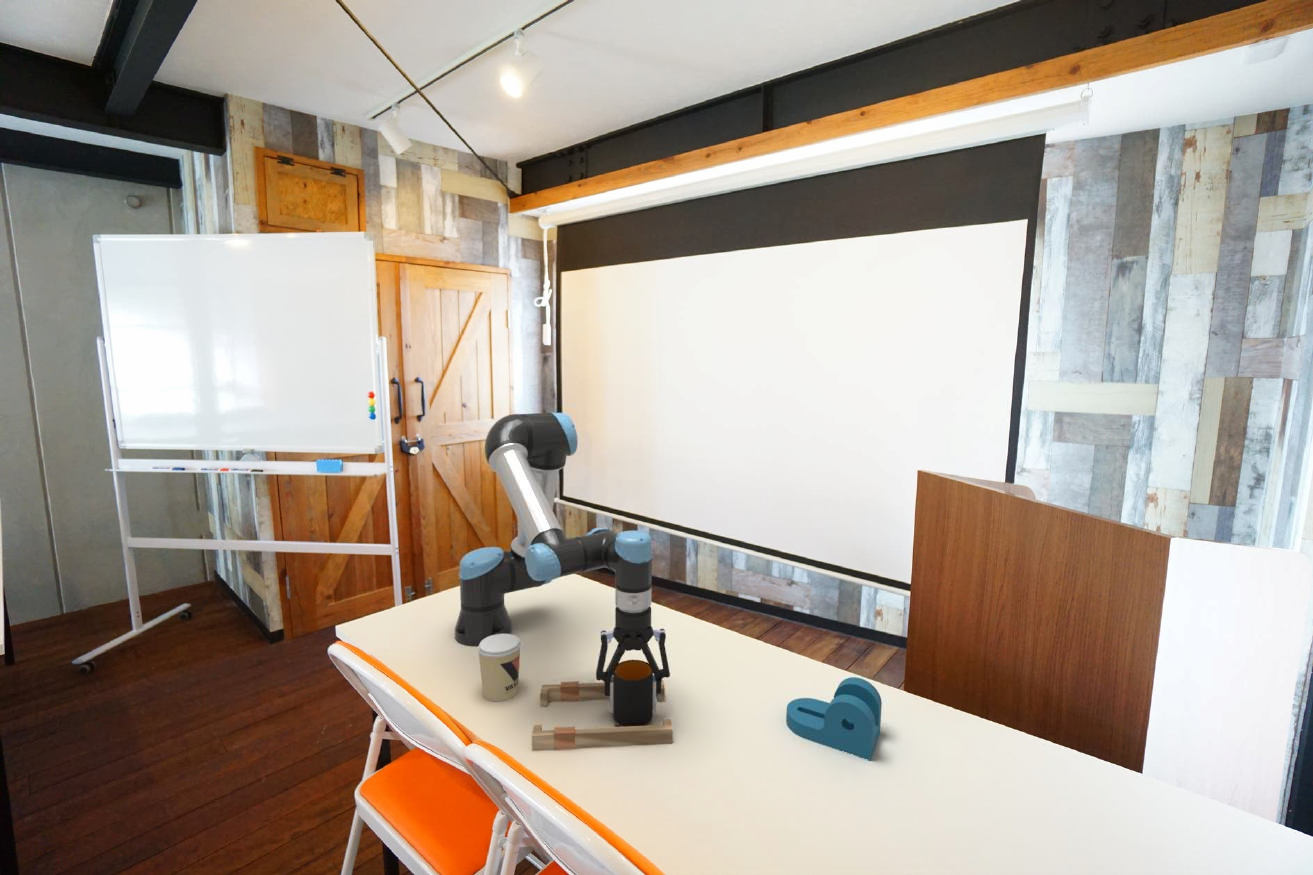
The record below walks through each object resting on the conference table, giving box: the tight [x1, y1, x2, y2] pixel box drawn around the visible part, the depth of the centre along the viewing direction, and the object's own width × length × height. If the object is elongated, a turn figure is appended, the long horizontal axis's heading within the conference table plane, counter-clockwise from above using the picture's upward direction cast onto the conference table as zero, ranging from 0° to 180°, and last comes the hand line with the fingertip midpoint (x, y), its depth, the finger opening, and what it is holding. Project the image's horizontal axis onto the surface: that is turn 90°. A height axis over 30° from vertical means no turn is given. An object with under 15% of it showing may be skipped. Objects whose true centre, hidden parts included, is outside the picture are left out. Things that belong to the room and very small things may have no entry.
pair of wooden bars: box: [531, 679, 673, 751], centre depth 121 cm, size 18×28×3 cm
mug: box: [612, 659, 654, 727], centre depth 121 cm, size 8×12×10 cm
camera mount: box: [785, 676, 883, 762], centre depth 117 cm, size 18×10×10 cm, turn 59°
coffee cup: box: [477, 633, 522, 702], centre depth 130 cm, size 9×9×12 cm
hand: (632, 707), depth 121 cm, fingers closed on mug, 8 cm apart
